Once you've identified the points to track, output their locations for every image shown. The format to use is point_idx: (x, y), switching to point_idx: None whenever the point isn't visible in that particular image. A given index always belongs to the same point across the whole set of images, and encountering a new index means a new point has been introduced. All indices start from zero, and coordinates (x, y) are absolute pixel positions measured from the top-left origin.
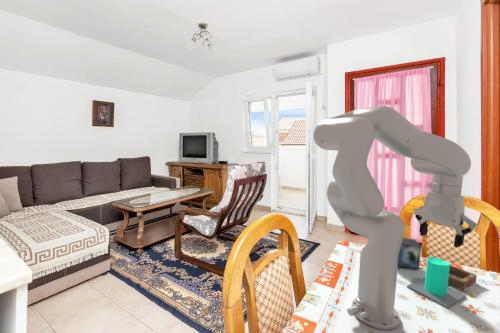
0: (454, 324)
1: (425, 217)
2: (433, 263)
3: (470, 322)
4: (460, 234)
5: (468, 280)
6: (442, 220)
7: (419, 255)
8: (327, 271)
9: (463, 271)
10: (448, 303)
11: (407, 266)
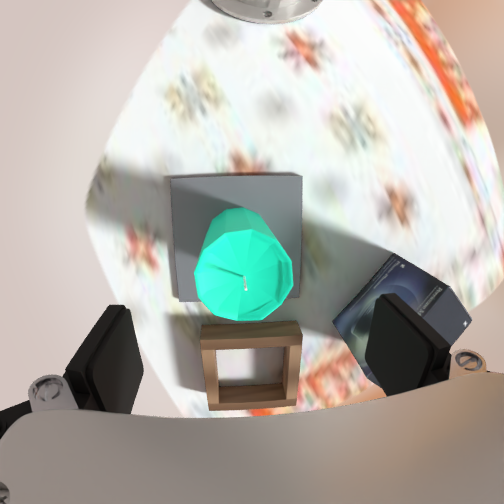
0: (130, 122)
1: (496, 396)
2: (245, 233)
3: (114, 174)
4: (53, 386)
5: (203, 367)
6: (203, 495)
7: (353, 349)
8: (449, 54)
9: (237, 402)
10: (178, 200)
11: (360, 297)
